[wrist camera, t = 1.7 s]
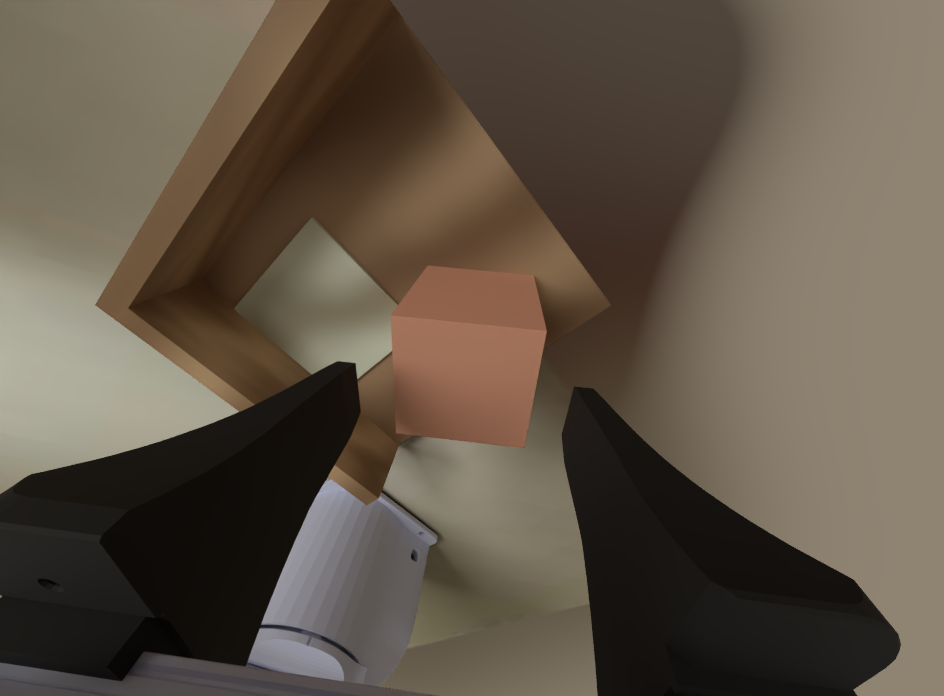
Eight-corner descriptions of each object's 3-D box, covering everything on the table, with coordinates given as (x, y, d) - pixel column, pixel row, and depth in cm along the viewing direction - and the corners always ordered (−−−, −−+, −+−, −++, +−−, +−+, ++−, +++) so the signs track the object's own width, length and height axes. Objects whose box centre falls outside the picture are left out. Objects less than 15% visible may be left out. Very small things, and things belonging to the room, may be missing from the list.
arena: (607, 299, 17) (639, 344, 13) (392, 442, 23) (366, 505, 19) (386, -5, 13) (327, -86, 8) (188, 272, 19) (95, 304, 14)
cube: (533, 275, 16) (547, 330, 11) (519, 366, 19) (524, 448, 13) (427, 265, 16) (390, 315, 11) (426, 356, 19) (396, 433, 14)
